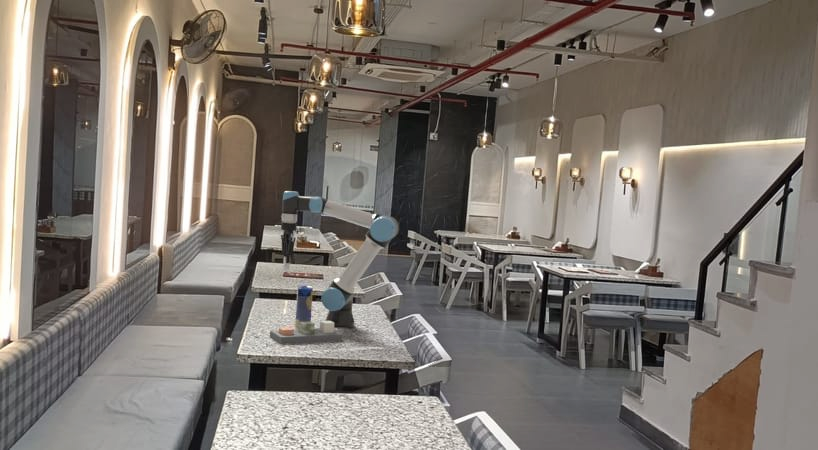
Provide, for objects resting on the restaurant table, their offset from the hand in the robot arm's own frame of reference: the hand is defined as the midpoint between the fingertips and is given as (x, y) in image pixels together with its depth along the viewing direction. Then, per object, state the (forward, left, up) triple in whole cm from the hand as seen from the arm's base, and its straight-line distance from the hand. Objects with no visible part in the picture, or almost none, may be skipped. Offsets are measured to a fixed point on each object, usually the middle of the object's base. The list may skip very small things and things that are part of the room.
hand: (286, 269), depth 357 cm
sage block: (+1, +34, -25) cm, 42 cm away
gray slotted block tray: (+1, +34, -28) cm, 44 cm away
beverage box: (-4, +17, -29) cm, 33 cm away
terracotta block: (+11, +34, -27) cm, 45 cm away
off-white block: (-9, +34, -25) cm, 43 cm away
